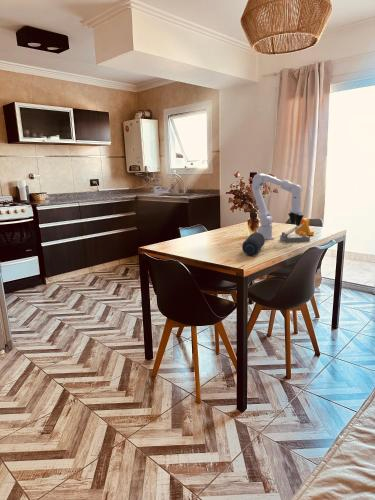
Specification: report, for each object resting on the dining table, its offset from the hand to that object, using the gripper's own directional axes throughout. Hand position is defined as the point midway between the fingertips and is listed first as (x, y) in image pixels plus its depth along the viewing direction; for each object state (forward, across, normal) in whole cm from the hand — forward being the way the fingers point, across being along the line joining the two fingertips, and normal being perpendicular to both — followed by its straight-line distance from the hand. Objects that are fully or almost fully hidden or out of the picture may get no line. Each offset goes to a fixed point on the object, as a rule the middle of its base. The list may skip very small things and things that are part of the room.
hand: (295, 224), depth 225 cm
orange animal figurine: (+11, +15, -14) cm, 23 cm away
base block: (+10, 0, 0) cm, 11 cm away
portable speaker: (+11, -21, +35) cm, 42 cm away
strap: (+4, 0, +2) cm, 4 cm away
